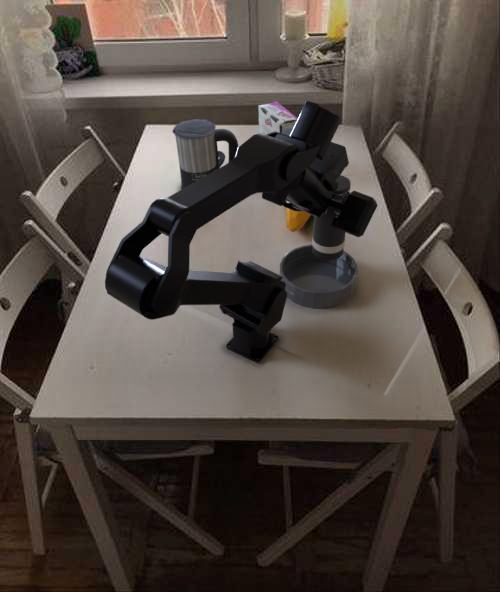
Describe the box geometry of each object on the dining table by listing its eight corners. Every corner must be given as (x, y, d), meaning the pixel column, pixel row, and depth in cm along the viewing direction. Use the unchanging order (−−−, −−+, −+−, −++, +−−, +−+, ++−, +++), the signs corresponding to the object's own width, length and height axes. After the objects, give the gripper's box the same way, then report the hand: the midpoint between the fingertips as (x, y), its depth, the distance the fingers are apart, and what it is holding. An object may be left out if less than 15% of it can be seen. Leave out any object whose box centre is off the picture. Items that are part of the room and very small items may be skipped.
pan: (334, 320, 97) (336, 303, 95) (265, 292, 103) (265, 275, 101) (368, 276, 106) (370, 259, 103) (302, 252, 112) (303, 236, 109)
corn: (328, 163, 123) (312, 213, 108) (328, 194, 128) (313, 246, 113) (294, 162, 125) (274, 211, 110) (296, 192, 129) (277, 243, 115)
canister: (334, 264, 99) (341, 194, 90) (306, 254, 101) (309, 185, 92) (349, 247, 102) (356, 179, 93) (320, 238, 105) (325, 170, 96)
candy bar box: (298, 187, 131) (301, 119, 120) (279, 192, 129) (280, 124, 118) (276, 165, 138) (277, 100, 127) (258, 170, 137) (256, 104, 126)
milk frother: (189, 202, 127) (182, 141, 117) (163, 172, 137) (155, 113, 127) (246, 186, 132) (243, 125, 122) (216, 157, 142) (212, 100, 132)
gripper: (379, 152, 79) (404, 188, 93) (273, 118, 88) (311, 155, 102) (343, 224, 80) (374, 249, 94) (242, 183, 89) (284, 211, 103)
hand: (335, 213), depth 98 cm, fingers closed on canister, 5 cm apart
